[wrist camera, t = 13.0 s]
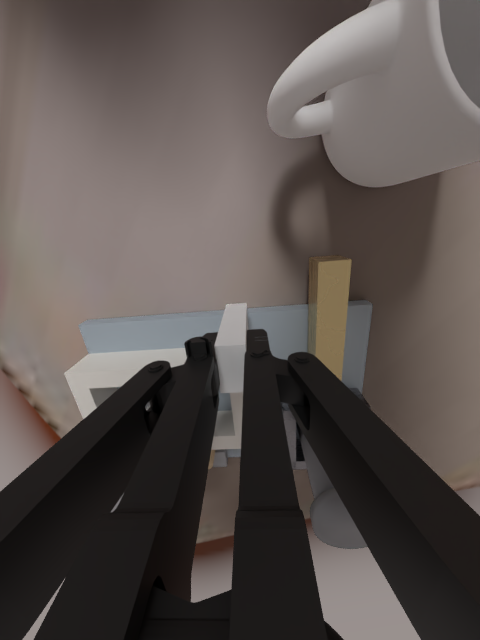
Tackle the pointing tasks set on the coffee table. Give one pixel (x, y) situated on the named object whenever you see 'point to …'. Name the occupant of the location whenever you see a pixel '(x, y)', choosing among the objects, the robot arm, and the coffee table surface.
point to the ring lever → (324, 331)
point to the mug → (389, 91)
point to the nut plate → (168, 344)
